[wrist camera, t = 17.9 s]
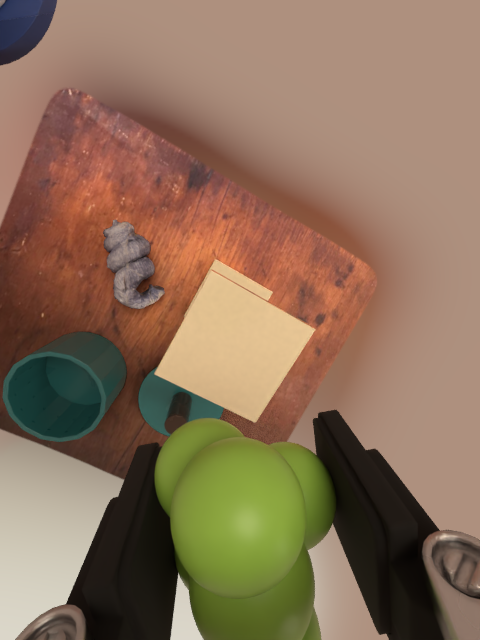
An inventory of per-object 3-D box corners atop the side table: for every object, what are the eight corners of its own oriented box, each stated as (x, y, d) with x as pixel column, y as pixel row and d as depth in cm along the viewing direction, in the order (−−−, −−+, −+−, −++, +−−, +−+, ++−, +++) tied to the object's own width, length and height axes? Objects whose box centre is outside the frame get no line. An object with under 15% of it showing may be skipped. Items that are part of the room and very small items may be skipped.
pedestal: (184, 314, 38) (153, 374, 20) (215, 258, 36) (210, 270, 19) (239, 344, 39) (255, 423, 22) (271, 290, 38) (315, 329, 20)
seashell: (157, 301, 38) (126, 222, 36) (177, 297, 34) (143, 208, 32) (117, 316, 35) (81, 232, 33) (133, 314, 31) (93, 217, 29)
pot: (33, 339, 37) (-13, 361, 30) (115, 325, 37) (90, 344, 30) (58, 411, 40) (22, 449, 32) (135, 398, 40) (116, 432, 33)
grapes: (150, 390, 9) (83, 542, 4) (308, 362, 9) (400, 481, 4) (191, 554, 10) (174, 788, 6) (324, 528, 10) (404, 735, 6)
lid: (131, 365, 39) (113, 389, 32) (216, 350, 39) (216, 371, 33) (151, 440, 42) (138, 475, 35) (231, 425, 42) (233, 458, 35)
